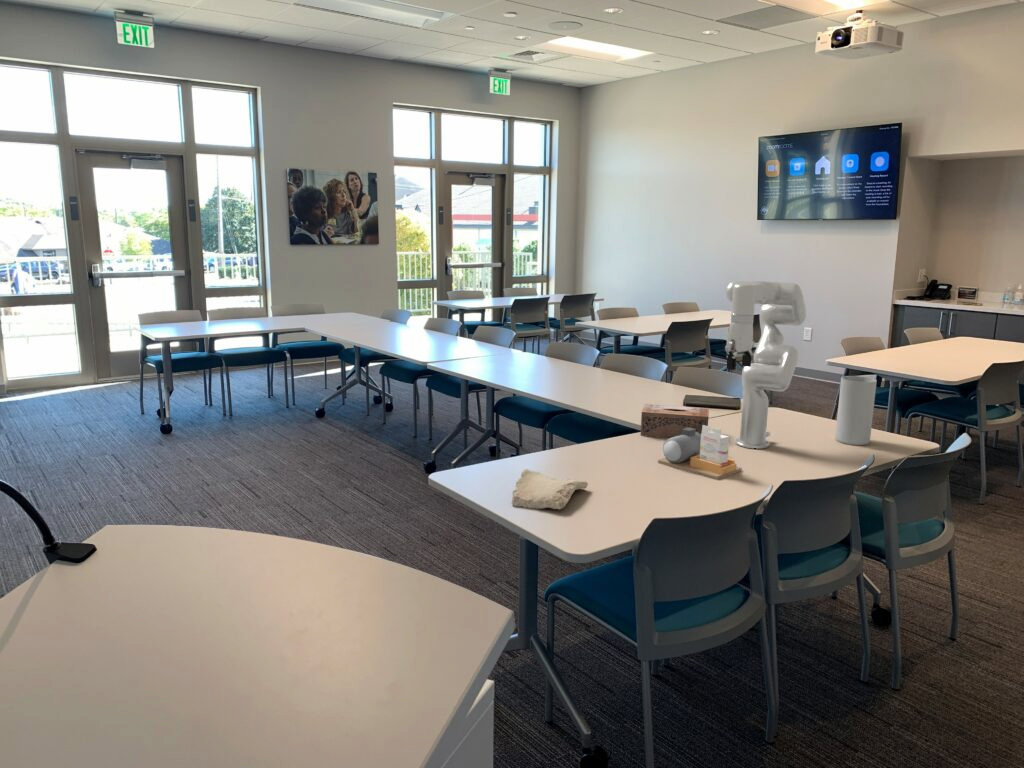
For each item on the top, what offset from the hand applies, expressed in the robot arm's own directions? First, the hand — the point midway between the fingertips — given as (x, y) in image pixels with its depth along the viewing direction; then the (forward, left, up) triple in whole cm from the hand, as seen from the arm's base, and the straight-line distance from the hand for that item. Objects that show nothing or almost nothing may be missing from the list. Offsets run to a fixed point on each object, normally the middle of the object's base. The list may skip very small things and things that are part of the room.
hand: (738, 367), depth 266 cm
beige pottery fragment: (+79, -15, -34) cm, 87 cm away
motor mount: (+18, -2, -33) cm, 38 cm away
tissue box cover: (-12, -34, -34) cm, 49 cm away
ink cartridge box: (+18, +4, -32) cm, 37 cm away
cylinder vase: (-57, +18, -34) cm, 69 cm away
